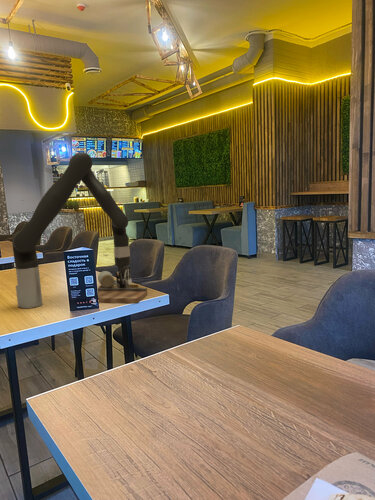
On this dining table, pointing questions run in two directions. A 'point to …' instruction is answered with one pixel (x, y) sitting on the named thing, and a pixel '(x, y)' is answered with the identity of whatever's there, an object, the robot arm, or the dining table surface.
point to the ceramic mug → (106, 279)
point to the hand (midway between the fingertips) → (124, 289)
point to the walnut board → (121, 295)
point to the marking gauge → (128, 284)
